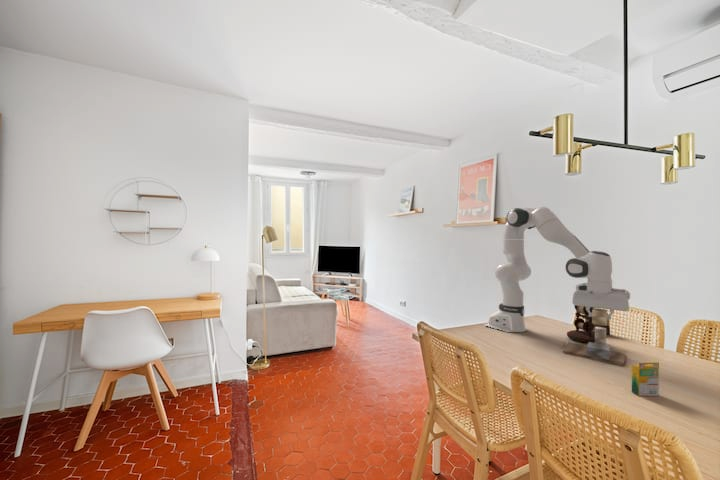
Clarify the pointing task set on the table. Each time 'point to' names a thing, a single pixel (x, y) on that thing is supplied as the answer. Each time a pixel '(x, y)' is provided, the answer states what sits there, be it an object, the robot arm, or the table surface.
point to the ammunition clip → (603, 327)
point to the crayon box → (645, 379)
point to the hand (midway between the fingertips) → (599, 318)
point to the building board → (583, 353)
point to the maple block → (599, 316)
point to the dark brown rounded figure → (582, 326)
